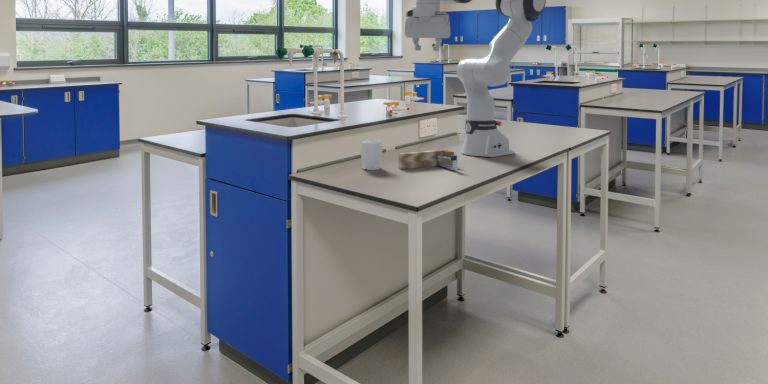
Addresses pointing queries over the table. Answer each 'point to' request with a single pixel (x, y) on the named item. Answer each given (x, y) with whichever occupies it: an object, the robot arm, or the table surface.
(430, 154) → the wooden l-bracket
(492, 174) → the table surface
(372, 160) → the white cup
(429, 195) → the table surface
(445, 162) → the crank handle
